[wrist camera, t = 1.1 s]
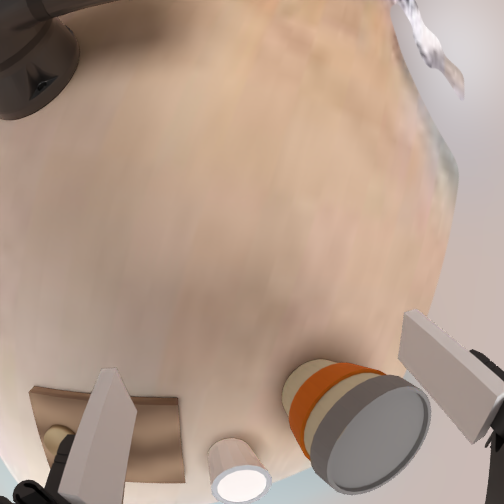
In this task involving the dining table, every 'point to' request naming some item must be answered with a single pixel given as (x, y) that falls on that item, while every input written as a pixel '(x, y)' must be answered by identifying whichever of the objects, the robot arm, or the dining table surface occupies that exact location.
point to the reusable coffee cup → (355, 422)
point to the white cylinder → (236, 473)
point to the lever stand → (143, 439)
